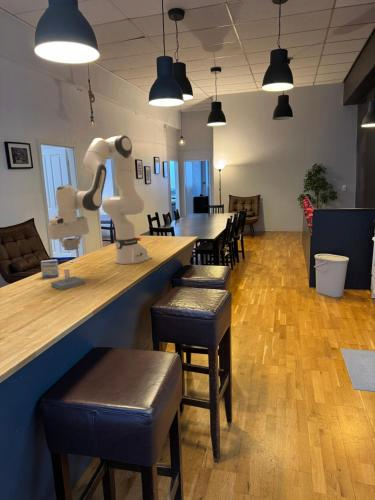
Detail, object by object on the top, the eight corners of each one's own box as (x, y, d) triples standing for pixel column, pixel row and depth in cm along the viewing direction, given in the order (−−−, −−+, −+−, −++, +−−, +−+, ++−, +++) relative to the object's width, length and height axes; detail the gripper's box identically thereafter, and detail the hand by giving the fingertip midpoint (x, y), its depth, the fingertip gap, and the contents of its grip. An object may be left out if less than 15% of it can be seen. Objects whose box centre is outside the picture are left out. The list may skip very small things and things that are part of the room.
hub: (74, 247, 182) (73, 237, 181) (80, 248, 178) (79, 238, 176) (62, 249, 177) (61, 239, 176) (69, 250, 173) (67, 240, 172)
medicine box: (42, 278, 181) (40, 262, 179) (43, 276, 185) (41, 260, 183) (58, 276, 183) (56, 260, 181) (59, 274, 187) (57, 258, 185)
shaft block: (74, 280, 175) (72, 265, 173) (85, 283, 168) (83, 268, 167) (51, 286, 166) (49, 271, 165) (61, 290, 160) (59, 274, 158)
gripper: (83, 215, 183) (86, 241, 186) (45, 220, 169) (49, 248, 172) (89, 216, 179) (92, 242, 182) (51, 221, 165) (55, 249, 168)
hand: (71, 245), depth 177 cm, fingers closed on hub, 6 cm apart
